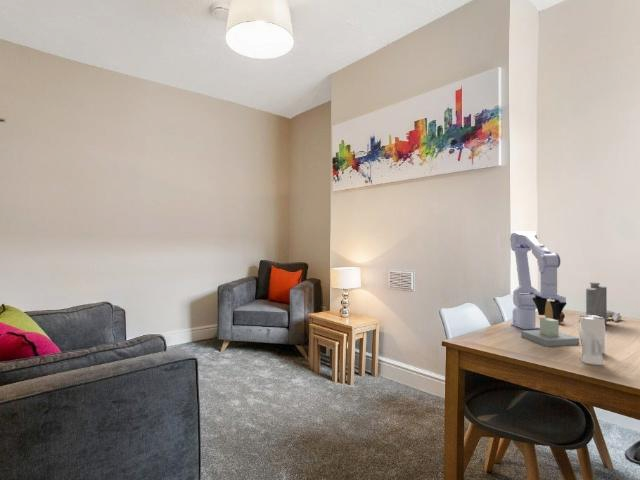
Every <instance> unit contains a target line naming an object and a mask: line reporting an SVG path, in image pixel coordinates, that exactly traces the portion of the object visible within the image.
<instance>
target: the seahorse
mask: <svg viewBox="0 0 640 480" xmlns="http://www.w3.org/2000/svg"><path fill="white" fill-rule="evenodd" d="M582 315H586V313H584V314H582ZM608 318H611V319H612V320H613V322H614V321H615V322H614V323H618V322H619V320H621V319H622V316H621V312H618V313H617V312H614V311H611V310H609V309H607V319H608Z"/></svg>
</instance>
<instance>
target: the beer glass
mask: <svg viewBox="0 0 640 480" xmlns="http://www.w3.org/2000/svg"><path fill="white" fill-rule="evenodd" d="M578 334H579V341H580V343H581V344H580V345H581V356H580V361H581V362H582V363H584V364H587V365H591V366H603V365H604V357H603V354H602V349H603V344H604V339H605V340H606V325H605V322H604V318H602V317H598V316H591V315H583V314H581V315H580V316H579V323H578Z"/></svg>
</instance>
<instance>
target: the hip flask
mask: <svg viewBox="0 0 640 480" xmlns="http://www.w3.org/2000/svg"><path fill="white" fill-rule="evenodd" d="M589 285H590V287H587V288H586V289H585V299H586V300H585V312H586V313H585V314H586V315H591V316H598V317H602V318H604V322H605V324H606V325H607V323H608V321H607V320H608V318H607V310H608V309H607V307H608V306H607V304H608V303H607V298H608V297H607V287H606V286H600V285H601V284H600V282H595V281H593V282H592V281H591V282H589Z"/></svg>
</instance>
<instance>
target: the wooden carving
mask: <svg viewBox="0 0 640 480" xmlns="http://www.w3.org/2000/svg"><path fill="white" fill-rule="evenodd" d="M550 301H551V300H547V302H546V306H545V315H543V316H544V318H551V319H553V311H552V306H551V304H550ZM565 318H566V317H565V313H564V312H563V311H562V312H561V315H560V319H556V320H558V321H559V323H564V319H565Z"/></svg>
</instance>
